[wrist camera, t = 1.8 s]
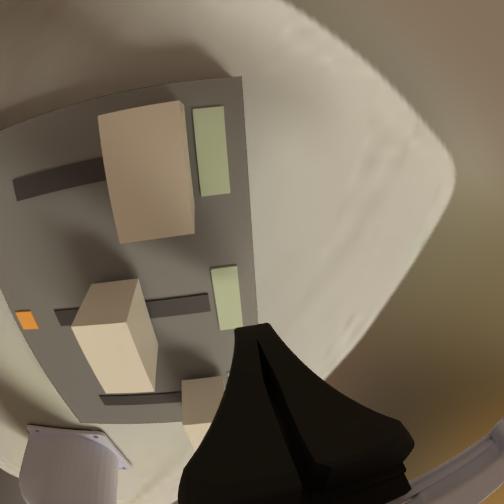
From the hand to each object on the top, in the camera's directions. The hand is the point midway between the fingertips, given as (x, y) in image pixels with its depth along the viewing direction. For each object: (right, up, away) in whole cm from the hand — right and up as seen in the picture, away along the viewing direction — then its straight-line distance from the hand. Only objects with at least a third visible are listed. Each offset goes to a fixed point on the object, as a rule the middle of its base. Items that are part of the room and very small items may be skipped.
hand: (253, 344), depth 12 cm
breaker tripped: (-6, +1, +2) cm, 7 cm away
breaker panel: (-7, +1, +4) cm, 8 cm away
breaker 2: (-3, -5, +5) cm, 8 cm away
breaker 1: (-4, +7, -1) cm, 8 cm away
